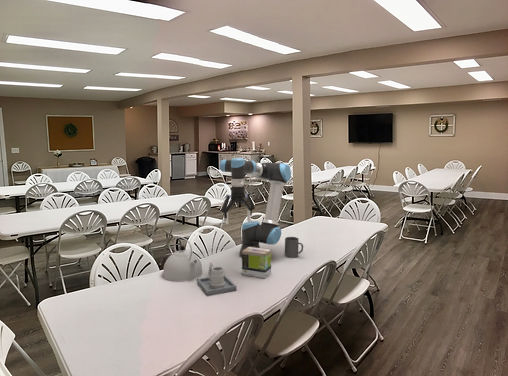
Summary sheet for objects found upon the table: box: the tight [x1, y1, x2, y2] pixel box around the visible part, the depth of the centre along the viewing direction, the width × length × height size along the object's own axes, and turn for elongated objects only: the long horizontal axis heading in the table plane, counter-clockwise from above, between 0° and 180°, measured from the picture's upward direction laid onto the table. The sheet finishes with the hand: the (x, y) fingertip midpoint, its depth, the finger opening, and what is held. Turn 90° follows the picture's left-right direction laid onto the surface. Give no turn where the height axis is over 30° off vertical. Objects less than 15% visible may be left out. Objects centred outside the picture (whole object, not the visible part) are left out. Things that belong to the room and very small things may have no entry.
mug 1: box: [207, 261, 226, 289], centre depth 205 cm, size 8×12×12 cm, turn 43°
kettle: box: [162, 235, 203, 282], centre depth 223 cm, size 25×23×22 cm
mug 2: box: [284, 236, 304, 259], centre depth 257 cm, size 14×9×12 cm
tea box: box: [241, 247, 272, 279], centre depth 225 cm, size 15×10×15 cm, turn 65°
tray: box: [196, 275, 238, 297], centre depth 206 cm, size 18×16×2 cm
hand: (238, 222), depth 218 cm, fingers open, 13 cm apart
